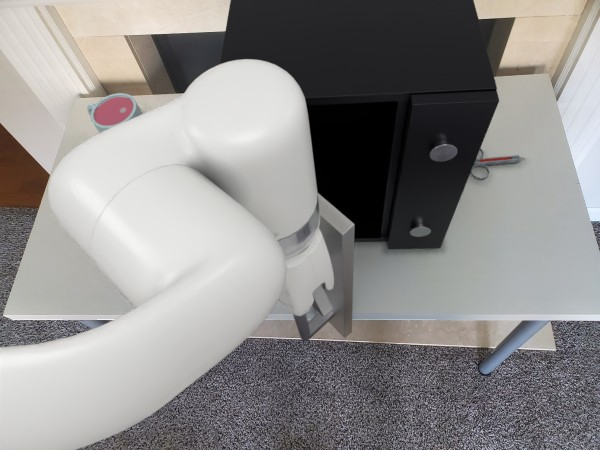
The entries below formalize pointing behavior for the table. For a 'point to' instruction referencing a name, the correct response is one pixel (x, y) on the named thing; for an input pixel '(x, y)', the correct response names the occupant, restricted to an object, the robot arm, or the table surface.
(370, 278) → the table surface
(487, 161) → the syringe
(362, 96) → the microwave
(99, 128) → the mug
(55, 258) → the table surface
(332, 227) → the microwave door
